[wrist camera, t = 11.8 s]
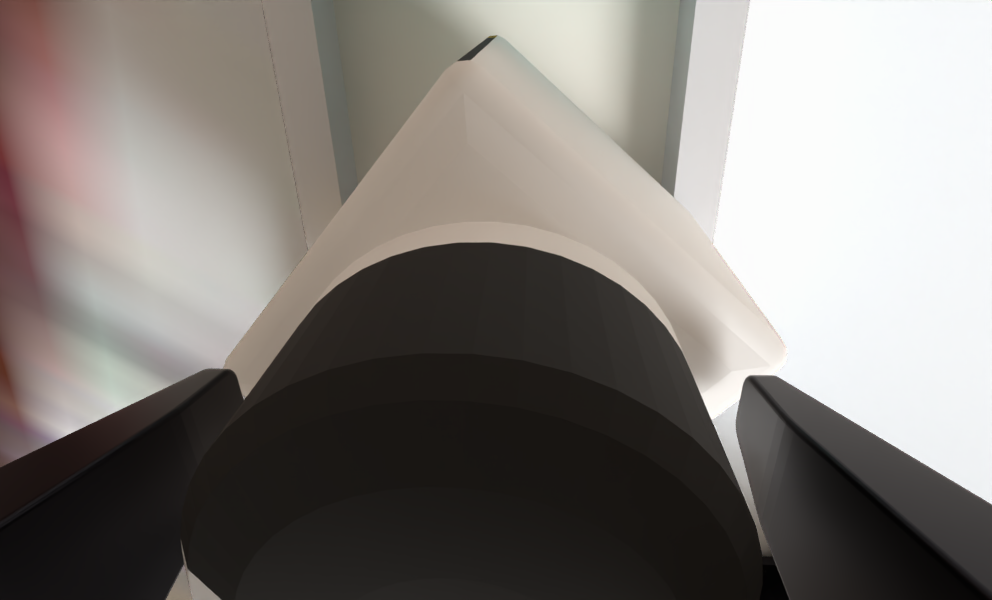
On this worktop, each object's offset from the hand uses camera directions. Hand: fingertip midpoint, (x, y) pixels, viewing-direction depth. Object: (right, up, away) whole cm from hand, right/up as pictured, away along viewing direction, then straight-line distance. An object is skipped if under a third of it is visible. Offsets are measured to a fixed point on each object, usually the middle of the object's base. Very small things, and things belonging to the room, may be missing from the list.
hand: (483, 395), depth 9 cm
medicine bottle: (+1, +4, +7) cm, 8 cm away
